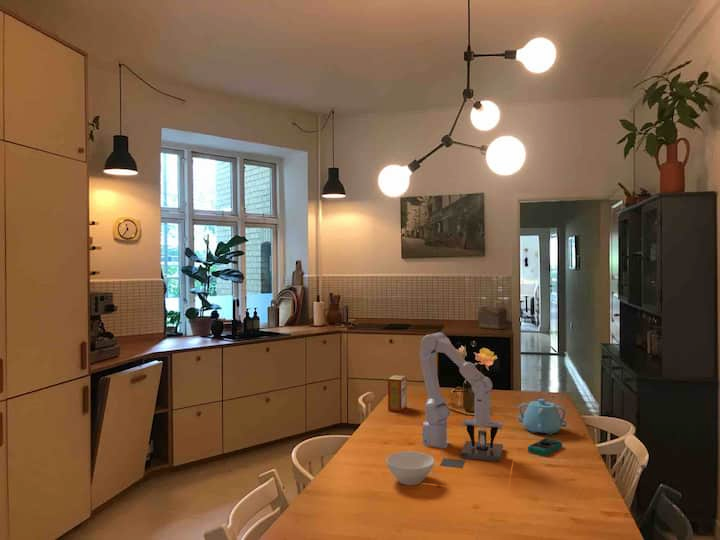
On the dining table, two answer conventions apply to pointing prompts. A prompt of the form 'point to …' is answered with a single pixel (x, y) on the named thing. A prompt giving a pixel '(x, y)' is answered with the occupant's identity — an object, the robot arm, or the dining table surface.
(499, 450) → the chuck block
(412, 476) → the bowl
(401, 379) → the baking soda box
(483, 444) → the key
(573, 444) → the dining table surface
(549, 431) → the decorative pot
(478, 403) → the robot arm
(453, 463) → the key mat
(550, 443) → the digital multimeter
